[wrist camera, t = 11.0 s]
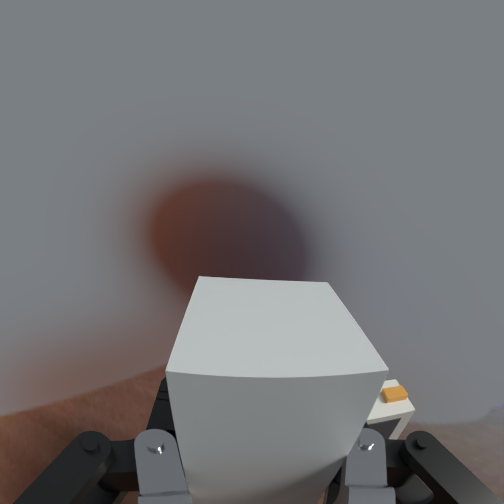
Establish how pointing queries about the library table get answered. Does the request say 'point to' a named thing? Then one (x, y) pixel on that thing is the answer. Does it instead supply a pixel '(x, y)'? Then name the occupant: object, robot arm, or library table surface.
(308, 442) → the block
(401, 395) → the socket bar
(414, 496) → the robot arm
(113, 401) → the library table surface
